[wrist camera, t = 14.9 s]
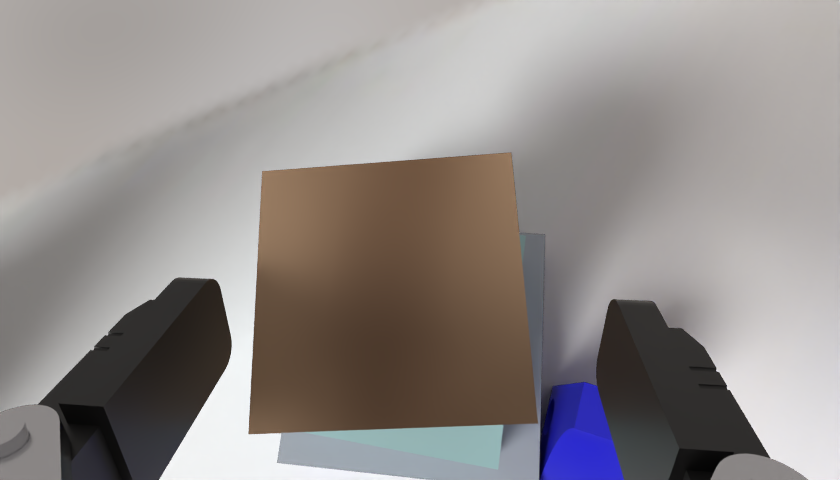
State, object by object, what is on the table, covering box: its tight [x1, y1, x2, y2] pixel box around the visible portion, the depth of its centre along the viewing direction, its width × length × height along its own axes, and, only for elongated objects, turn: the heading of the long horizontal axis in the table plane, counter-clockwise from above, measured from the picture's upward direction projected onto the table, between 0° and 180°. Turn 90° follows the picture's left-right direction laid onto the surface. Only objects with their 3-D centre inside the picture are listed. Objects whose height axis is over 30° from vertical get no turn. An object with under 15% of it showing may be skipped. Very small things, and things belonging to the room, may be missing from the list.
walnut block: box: [249, 153, 538, 434], centre depth 14 cm, size 6×6×8 cm
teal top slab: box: [304, 235, 526, 470], centre depth 20 cm, size 8×8×3 cm
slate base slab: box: [277, 233, 545, 480], centre depth 23 cm, size 10×10×3 cm
